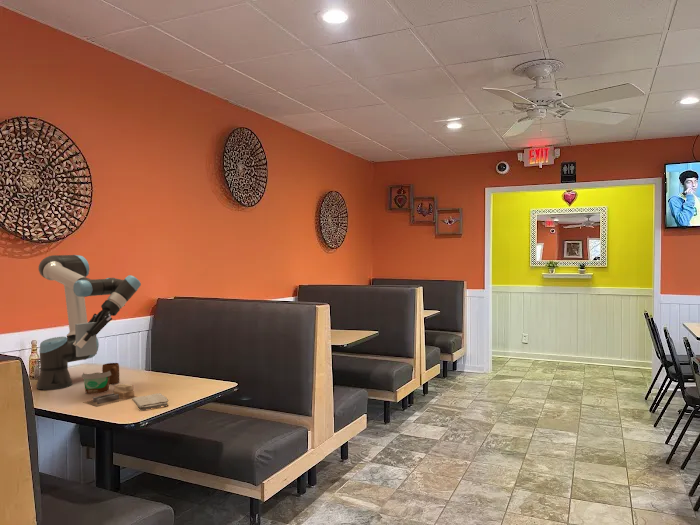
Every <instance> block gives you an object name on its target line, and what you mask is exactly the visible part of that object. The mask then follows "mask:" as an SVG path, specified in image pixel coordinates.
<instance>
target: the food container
mask: <svg viewBox="0 0 700 525" xmlns="http://www.w3.org/2000/svg"><path fill="white" fill-rule="evenodd" d="M110 375H111V372H110V371H108V372H105V373H102V372H93V373H84V372H82V375H81V378H82V379H83V383H84V384H83V385H84V390H85V394H87V395H92V394H93V395H95V394H96V395H97V394H102V393H106V392H108V391H110V389H109V388H110V385H109V380H110Z"/></svg>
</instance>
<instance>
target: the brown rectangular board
mask: <svg viewBox="0 0 700 525" xmlns="http://www.w3.org/2000/svg"><path fill="white" fill-rule="evenodd" d="M135 397H137V396H135V395H134V397H131V398H126V399H121V398H119V394H116V395H115V393H114V392H112V393H106V394H103V395H99V396H93V397H92V400H88V401H84V402H82V403H84V404H86V405H89V406H92V407H95V408H97V407H102V406H107V405H111V404H114V403H119V402H123V401H127V400H131V399H133V398H135Z"/></svg>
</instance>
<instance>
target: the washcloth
mask: <svg viewBox="0 0 700 525" xmlns="http://www.w3.org/2000/svg"><path fill="white" fill-rule="evenodd" d="M132 401H133V402H134V403H135V404H136V405H137V407H138V408H139V409H140V410H143V411H147V410H146V409H151V408H156V409H158V408H157V407H161V406H166V405H168V406H169V404H168V402H169V400H168V398H167V396H164V395H163V394H162V393H153V394H148V395H141V396H136V397H135V398H132ZM138 408H137V409H138ZM139 409H138V410H139ZM140 410H139V411H140ZM151 410H152V409H151Z"/></svg>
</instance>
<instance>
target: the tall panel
mask: <svg viewBox="0 0 700 525" xmlns="http://www.w3.org/2000/svg"><path fill="white" fill-rule="evenodd" d="M95 323H96V322H92V323H83V324H75V334H76V344H77V343H78V341H79V340H80V339H81V338H82V337H83V336H84V335H85V334H86V333H88V332H87V331H89V330H90V329H91V328H92V327H93V325H94V324H95ZM96 337H97V335H94V336H92V337H91V338H90V339H89V340H88V341H87V342H86V344H85V345H84V346H83V347H82V348H79V347H78V346H77V345H76V357H82V356H88V355H94V354H96V355H97V353H98V351H97V342H96Z"/></svg>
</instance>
